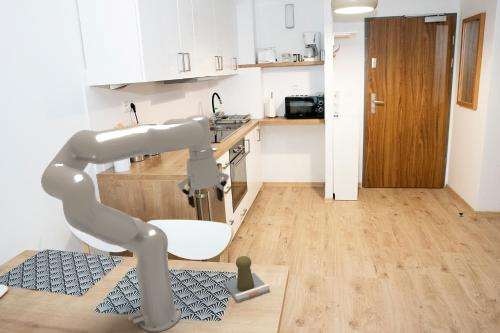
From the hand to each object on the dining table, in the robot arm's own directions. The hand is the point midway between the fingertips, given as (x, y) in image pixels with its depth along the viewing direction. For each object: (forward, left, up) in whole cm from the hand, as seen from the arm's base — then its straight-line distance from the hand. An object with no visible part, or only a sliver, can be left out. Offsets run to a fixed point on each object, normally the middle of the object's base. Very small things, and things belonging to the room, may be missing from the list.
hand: (206, 203), depth 133 cm
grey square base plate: (+8, -9, -30) cm, 33 cm away
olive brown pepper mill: (+8, -10, -30) cm, 32 cm away
